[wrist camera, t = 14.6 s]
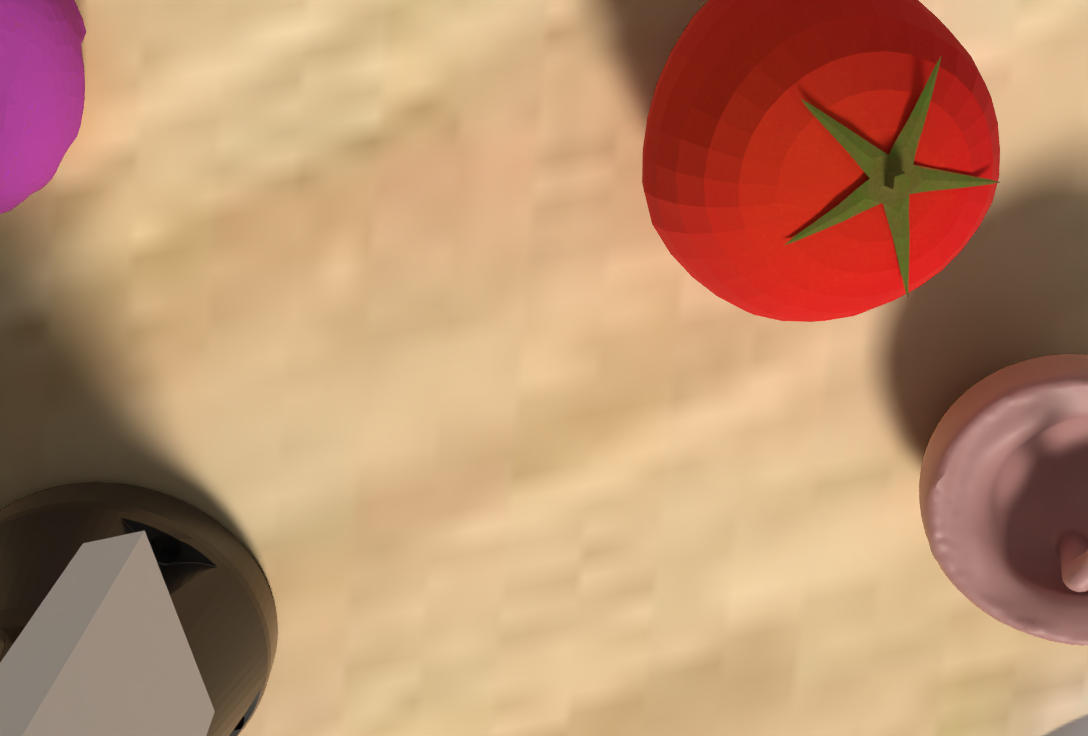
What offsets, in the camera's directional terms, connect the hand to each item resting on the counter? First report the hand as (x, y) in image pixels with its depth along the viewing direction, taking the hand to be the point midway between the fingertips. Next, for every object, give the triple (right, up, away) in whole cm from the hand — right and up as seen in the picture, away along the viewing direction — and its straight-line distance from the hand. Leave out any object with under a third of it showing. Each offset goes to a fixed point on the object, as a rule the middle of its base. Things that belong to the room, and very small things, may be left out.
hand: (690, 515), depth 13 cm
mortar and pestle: (+20, -1, +36) cm, 41 cm away
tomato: (+7, +12, +30) cm, 33 cm away
